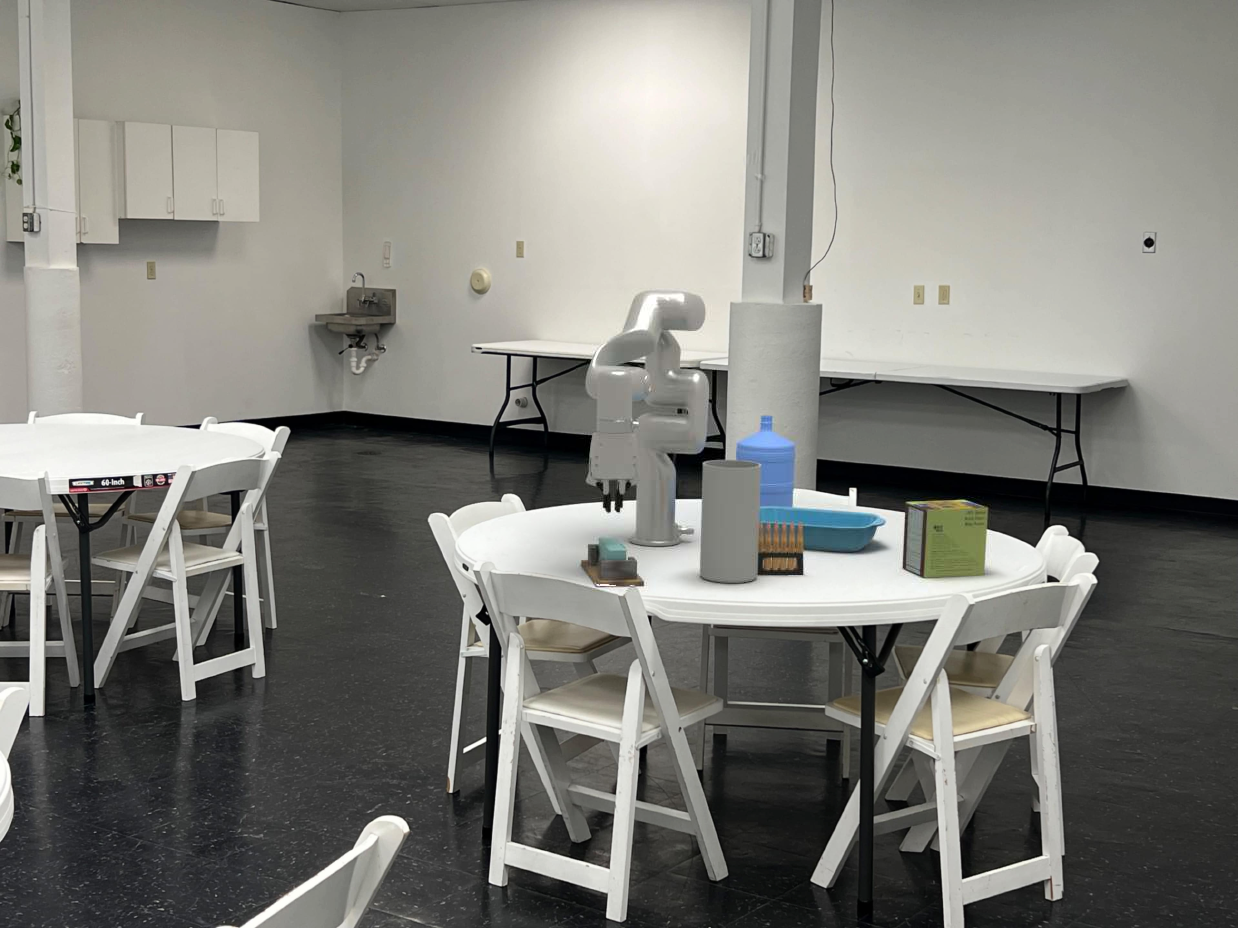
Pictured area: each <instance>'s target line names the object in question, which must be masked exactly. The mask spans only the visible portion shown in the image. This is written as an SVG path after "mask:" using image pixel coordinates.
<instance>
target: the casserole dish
mask: <svg viewBox="0 0 1238 928" xmlns="http://www.w3.org/2000/svg"><path fill="white" fill-rule="evenodd" d="M760 521H762V524H763V538H764V540H765V534H766V526H767V523H768V521H769V522H770V525H771V539H772V540H773V534H774V525H775V522H776V521H777V522H778V526H779V540H780V539H781V531H782V525H783V522H784V521H785V523H786V527H787V548H788V539H789V531H790V525H791V522H792V521H793V522H794V527H795V549H796V539H797V532H798V525H799V522H800V521H801V522H802V526H803V550H812V551H824V552H826V551H827V552H838V553H839V552H840V553H844V552H845V553H852V552H853V553H854V552H855V553H856V552H858V551H860V550H863V548H864V547H866V546H867V545H868V544H870V543H871V542H872V540H873V539H874V537H875V534H876V532H877V529H878V527H882V526H884V525H885V524H886V522H887V521H886V519H885V518H882V517H881V516H880V515H879V514H874V513H868V512H860V511H847V510H846V511H844V510H834V509H832V510H831V509H820V508H807V507H806V508H805V507H796V506H795V507H794V506H793V507H780V506H763V507H760V514H759V523H760ZM779 548H780V545H779Z"/></svg>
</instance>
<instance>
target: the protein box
mask: <svg viewBox="0 0 1238 928" xmlns="http://www.w3.org/2000/svg"><path fill="white" fill-rule="evenodd" d="M904 506H905V507H904V523H903V524H904V526H903V529H904V530H903V546H902V547H903V548H902V549H903V551H902V570H905V571H907V572H910V573H912V574H914V575H916V576H918V577H920V578H923V579H930V578H932V579H933V578H953V577H954V578H955V577H956V578H957V577H972V576H973V577H975V576H976V577H977V576H984V575H985V570H986V569H985V567H986V553H987V552H986V548H987V547H986V546H987V534H988V533H987V530H988V517H989V515H988V513H989V507H988V506H986V505H985V506H984V505H981V504H978V503H975V502H973V501H969V500H966V499H956V500H955V499H954V500H948V499H947V500H926V501H922V500H921V501H905V505H904Z"/></svg>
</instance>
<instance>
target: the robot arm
mask: <svg viewBox="0 0 1238 928" xmlns="http://www.w3.org/2000/svg"><path fill="white" fill-rule="evenodd" d="M706 314H707V313H706V306H705V302H704V300H703V299H702V297H701V296H700V295H698V294H694V293H691V292H687V291H684V290H683V291H682V290H658V289H657V290H652V289H650V290H643V291H641V292H639V293H637V294H636V295H635V296H634V297H633V300H632V302H631V305H630V307H629V311H628V314H627V317H626V320H625V322H624V325H623V328H622V331H621V332H620V333H618V334H616V335H614V336H613V337H611V338H610V339H609V340H607V341H606V342H604V343H603V344H602V345H600V346H598V348H597V349H596V351H594V353H593V355H592V357H591V361H590V363H589V366H588V370H587V372H586V377H585V391H586V393H587V394H588V396H589V397H590V398H593V399H594V400H596V432H593V433H592V435H591V436H592V437H591V442H590V448H589V449H590V450H589V459H588V461H589V463H588V473H587V474H588V475H587V478H586V479H585V482H586V483H587V484H588V485H591V486H593V487H596V488H598V489H599V490H600V491H601V493H602V508H603V509H605V510H604V511H605V512H606V513H607V514H608V513H609V514H611V512H612V494H611V491H610V486H609V485H610V483H609V481H617V487H616V491H615V493H614V512H616V513H617V514H618V513H621V509H623V507H624V494H625V493H626V492H627V491H628V489H630V488H631V487H633V486H636V497H635V498H636V499H635V500H636V502H635V503H636V506H635V510H636V511H635V533H633V534H630V535H629V537H628V539H629V540H628V541H629V542H631V543H632V544H635V545H638V546H639V545H641V546H649V547H665V546H668V547H669V546H674V545H678V544H680V543H681V542H682V539H681V538H682V537H681V536H682V535H694V533H695V528H694V526H693V525H692V526H687V525H678V523H676V497H677V496H676V489H677V488H676V487H677V471H676V466H675V465H674V463H673V461H672V460H671V458H670V457H669V456H668V454H680V455H681V454H684V455H685V454H686V455H697V454H699V453H701V452H702V451H703V450H704V449H705V446H706V441H707V433H708V431H707V430H708V418H709V415H708V414H709V399H710V386H709V385H710V384H709V379H708V377H707V375H706V373H705V372H703V371H701V370H698V369H689V368H688V369H686V368H681V354H682V352H681V351H682V349H681V347H680V344H679V342H678V340H677V339H676V337H675V336H674V335H673V334H672V332H671V331H679V332H681V331H686V332H687V331H688V332H696V331H698V330H700V329H701V328H702V327H703V325H704V323H705V320H706ZM642 358H645V359H644V360H645V361H644V368H642V367H638V366H625V365H622V364H625V363H628V362H632V361H636V360H638V359H642ZM643 400H644V402H645V404H647V405H648V406H651V407H656V408H666V409H683V410H684V409H685V410H687V412H688V413H687V414H686V413H673V412H672V413H670V412H647V413H643V414H642V415H640V416H638V417H637V418H636V419H635V421H634V420H633V402H640V401H643Z"/></svg>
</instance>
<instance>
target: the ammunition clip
mask: <svg viewBox="0 0 1238 928" xmlns="http://www.w3.org/2000/svg"><path fill="white" fill-rule="evenodd" d="M779 545H780V547H779ZM804 571H805V570H804V549H803V526H802V522H801V521H800V522H799V525H798V532H797V539H796V548H795V527H794V522H793V521H792V522H791V525H790V531H789V539H788V547H787V527H786V523H785V521H784V522H783V525H782V531H781V539H780V540H779V526H778V522H777V521H776V522H775V525H774V534H773V540H772V539H771V525H770V522H769V521H768V523H767V526H766V534H765V540H764V538H763V524H762V521H760V523H759V543H758V573H757V576H788V575H803V576H804V575H805V574H804V573H805V572H804Z"/></svg>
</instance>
